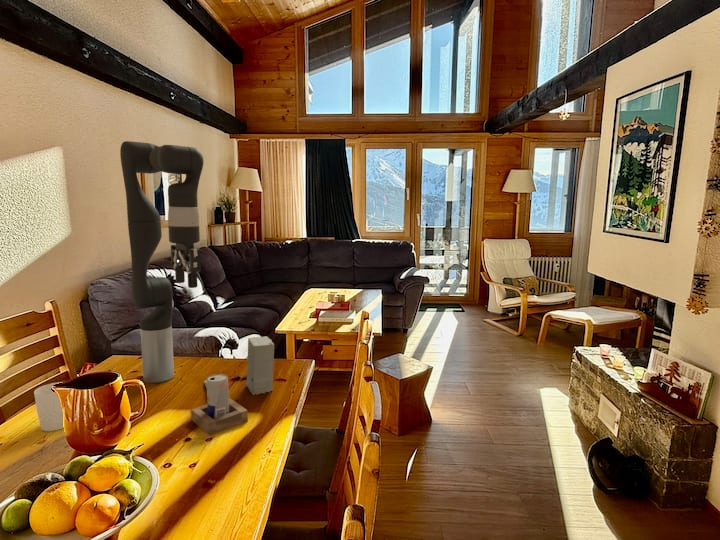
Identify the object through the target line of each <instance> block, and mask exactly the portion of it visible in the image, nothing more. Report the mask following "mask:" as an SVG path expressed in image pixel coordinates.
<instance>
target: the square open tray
mask: <svg viewBox="0 0 720 540" xmlns="http://www.w3.org/2000/svg"><path fill="white" fill-rule="evenodd" d="M248 413H249V412H248V409H246V408H245V407H243V406H242V405H241V404H239V403H238V402H236V401H234V400H233V399H232V398H231V397H229V413H228V414H226V415H223V416H220V417H217V418H214V419H212V418H211V417H210V416H208V405H207V403H205V404H202V405H200V406H196V407H194V408H191V409H190V415H191V421H192V422H193V423H195V425H197V426H198V427H199V428H200V429H202V430H203V431H204V432H205V433H206V434H207V435H208V436H212V435H214V434H217V433H219V432H222V431H224V430H227V429H231V428H234V427H235V426H238V425H240V424H243V423H247V422H248V421H249V415H248Z"/></svg>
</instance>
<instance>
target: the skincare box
mask: <svg viewBox="0 0 720 540" xmlns="http://www.w3.org/2000/svg"><path fill="white" fill-rule="evenodd" d="M274 359H275V343H274V342H273V341H272V339H270V338H269V336H267V335H266V336H253V337H252V336H251V337H248V338H247V360H246V363H247V365H246V366H247V367H246V368H247V369H246V387H247V388H248V390H249V391H250V393H251V395H252V396H255V394H256V395H261V394H260V393H262V394H266V393H265V392H269V393H271V392H270V391H272V392H273V387H274V386H273V385H274V366H275V365H274V363H275V360H274Z"/></svg>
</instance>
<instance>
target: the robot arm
mask: <svg viewBox="0 0 720 540" xmlns="http://www.w3.org/2000/svg"><path fill="white" fill-rule="evenodd" d="M119 151H120V152H119V153H120V162H121V170H122V176H123V182H124V189H125V199H126V214H127V228H128V229H127V231H128V236H129V237H128V238H129V245H130V255H131V256H130V257H131V296H132V302H133V304H134V305H135V307H136V308H138V309H139V310H140V309H141V310H143V309H150V308H151V309H152V308H154V309H153V311H152V312H150V313H149V314H148V315H146V316H144V317H142V318H141V320H140V321H139V329H140V343H141V347H140V348H141V361H142V363H141V365H142V379H143V381H144V382H145V383H151V384H159V383H163V382H167V381H169V380H171V379H173V378H174V377H175V366H174V365H175V363H174V360H175V359H174V347H173V345H174V343H173V327H172V326H173V325H172V320H173V286H172V283H171V281H170V280H169V278H168V277H164V276H162V277H161V276H159V277H150V278H148V275H147V274H148V267H149V263H150V261H151V259H152V257H153V255H154V253H155V251H156V250H157V249H158V248H157V247H158V246H159V244H160V243H161V239H162V237H163V236H162V235H163V233H162V222H161V220H162V219H161V216H160V213H159V211H158V209H157V208H156V207H155V205H154V204H153V203H152V201H151V200H150V199H149V198H148V196H147V195H146V194H145V192H144V190H143V189H142V187H141V184H140V182H139V179H138V174H147V175H148V174H157V173H160V172H162V173H164V174H165V173H166V174H176V175H186V177H185V179H184V181H182V182H178V183H177V182H176V183H172V184H170V185H169V186H168V189H167V195H168V196H167V201H168V202H167V203H168V211H167V223H168V225H167V226H168V227H167V228H168V241H169V243H170V265H171V267H173V269H174V272H175V283H177V284H184V283H185V282H186V278H185V269H186V272H187V286H188V287H187V288H189V289H191V288H193V289H194V288H198V273H200V272H202V259H201V249H200V248H198V247H197V248H195V244H197V243H200V240H201V239H200V238H201V237H200V236H201V235H200V233H201V232H200V214H199V208H198V206H199V205H198V190H199V184H200V179H201V175H202V171H203V168H204V155H203V154H202V152H201V151H200V149H198V148H197V147H192V146H185V145H184V146H183V145H175V144H164V145H163V144H162V145H160V146H158V145H156V144H154V143H149V142H140V141H131V140H127V141H126V140H125V141H123V142H122V143H121V145H120V150H119Z"/></svg>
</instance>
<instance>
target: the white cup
mask: <svg viewBox="0 0 720 540" xmlns="http://www.w3.org/2000/svg"><path fill="white" fill-rule="evenodd" d="M63 382H64V381H59V382H52V383H48V384H45V385H42V386H39V387H38V388H36V389H35V390H34V391H33V394H34V400H35V407H36V413H37V418H38V420H39V427H40V430H41V431H43V430H44V431H43V432H54V431H53V430H56V431H60V430H62V429H64V428H63V411H62V407H61V404H60V401H59V398H58V396H57V394H56V393H55V392H53V391H52V390H51V386H53V385H55V384H59V383H63ZM59 429H60V430H59Z"/></svg>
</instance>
